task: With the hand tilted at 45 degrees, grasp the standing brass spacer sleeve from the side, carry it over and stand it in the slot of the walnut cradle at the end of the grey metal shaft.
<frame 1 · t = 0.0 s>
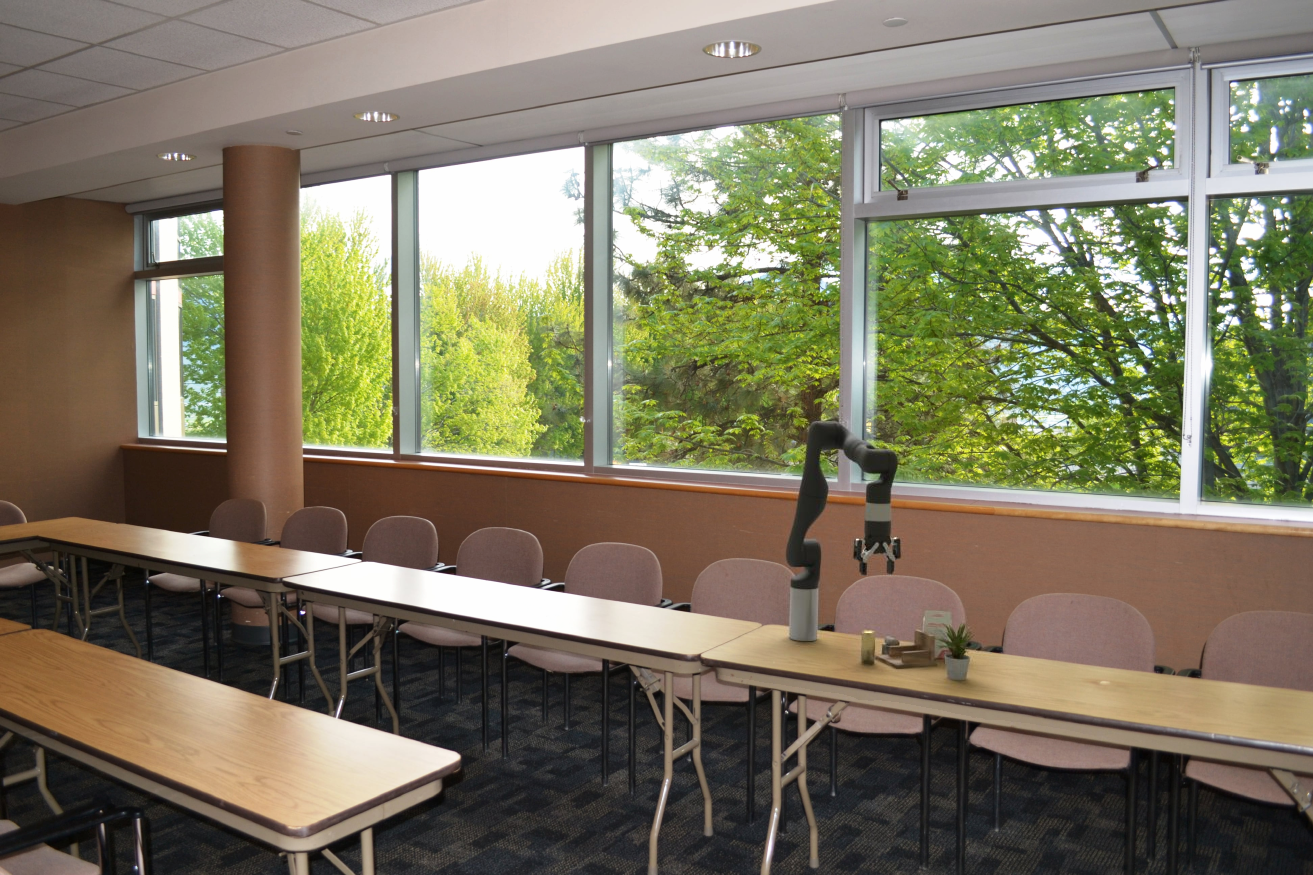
hand: (876, 574, 281), 29 cm above the table, tool pointing down, fingers open, 8 cm apart
cradle: (905, 661, 297), on the table
ink cartridge box: (936, 657, 304), on the table
house plant: (955, 677, 281), on the table
spacer: (867, 662, 295), on the table
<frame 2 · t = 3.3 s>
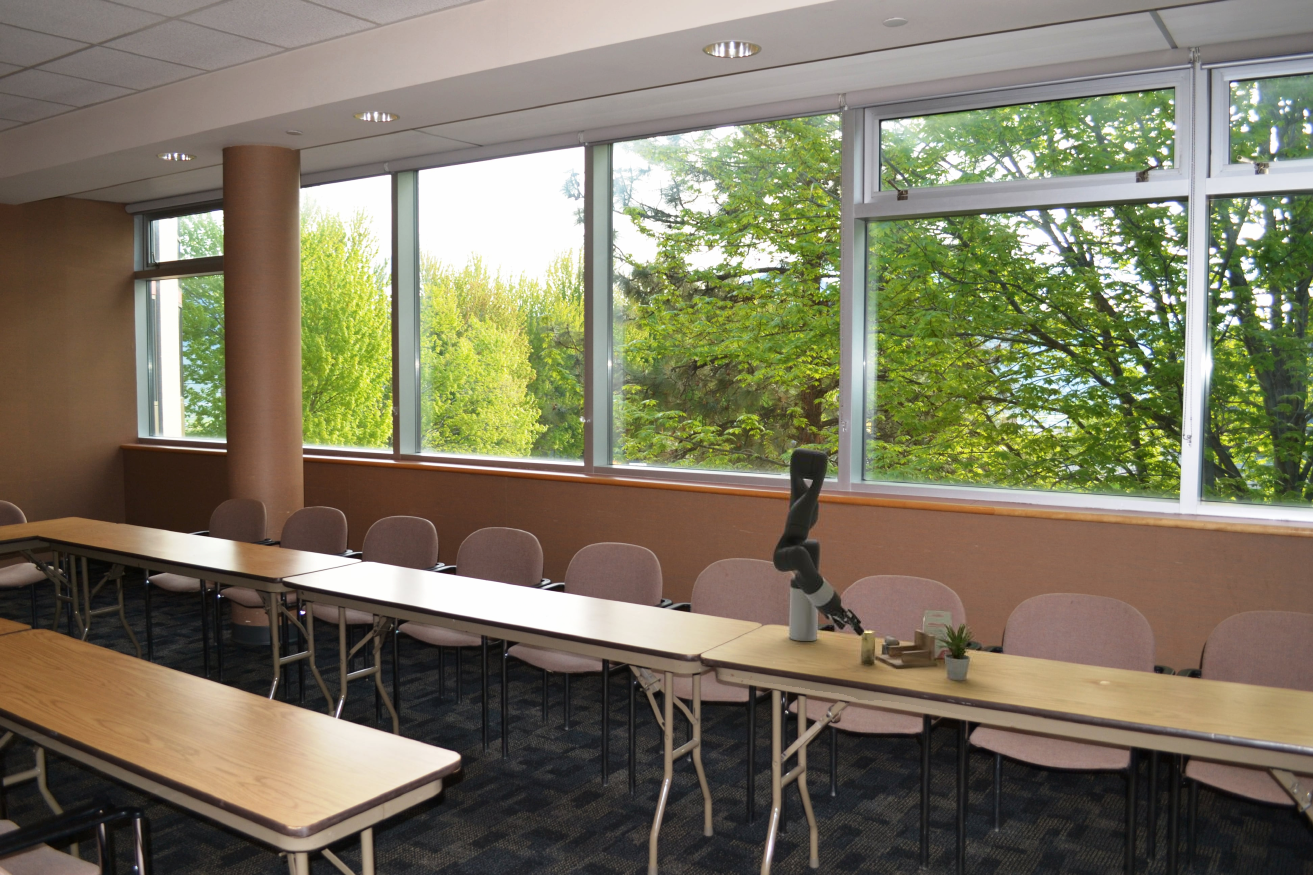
hand: (852, 630, 291), 11 cm above the table, tool tilted 45°, fingers open, 8 cm apart
nothing on the table moved.
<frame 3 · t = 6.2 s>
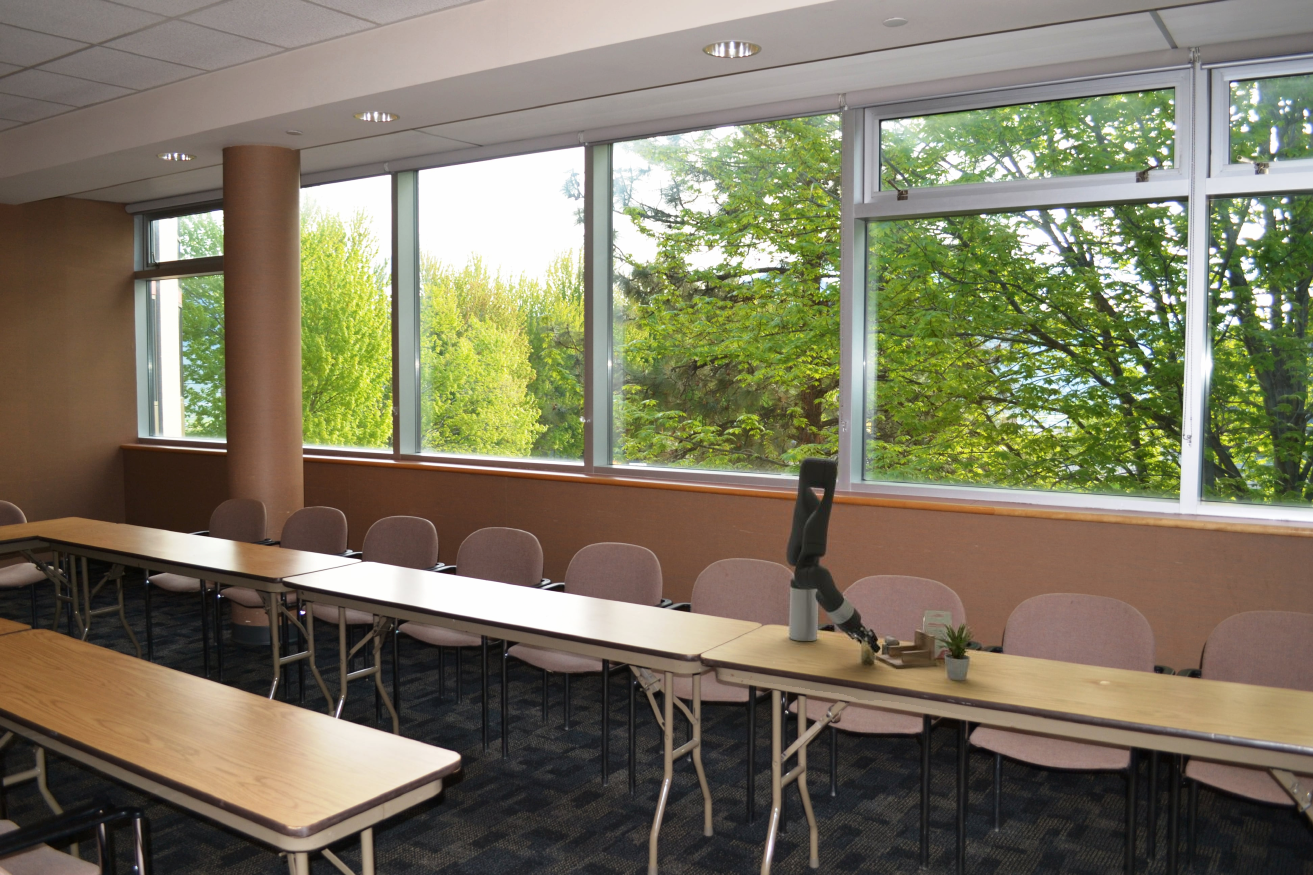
hand: (873, 648, 296), 4 cm above the table, tool tilted 45°, fingers closed on spacer, 4 cm apart
spacer: (867, 662, 295), on the table, touching gripper
everything else where it was.
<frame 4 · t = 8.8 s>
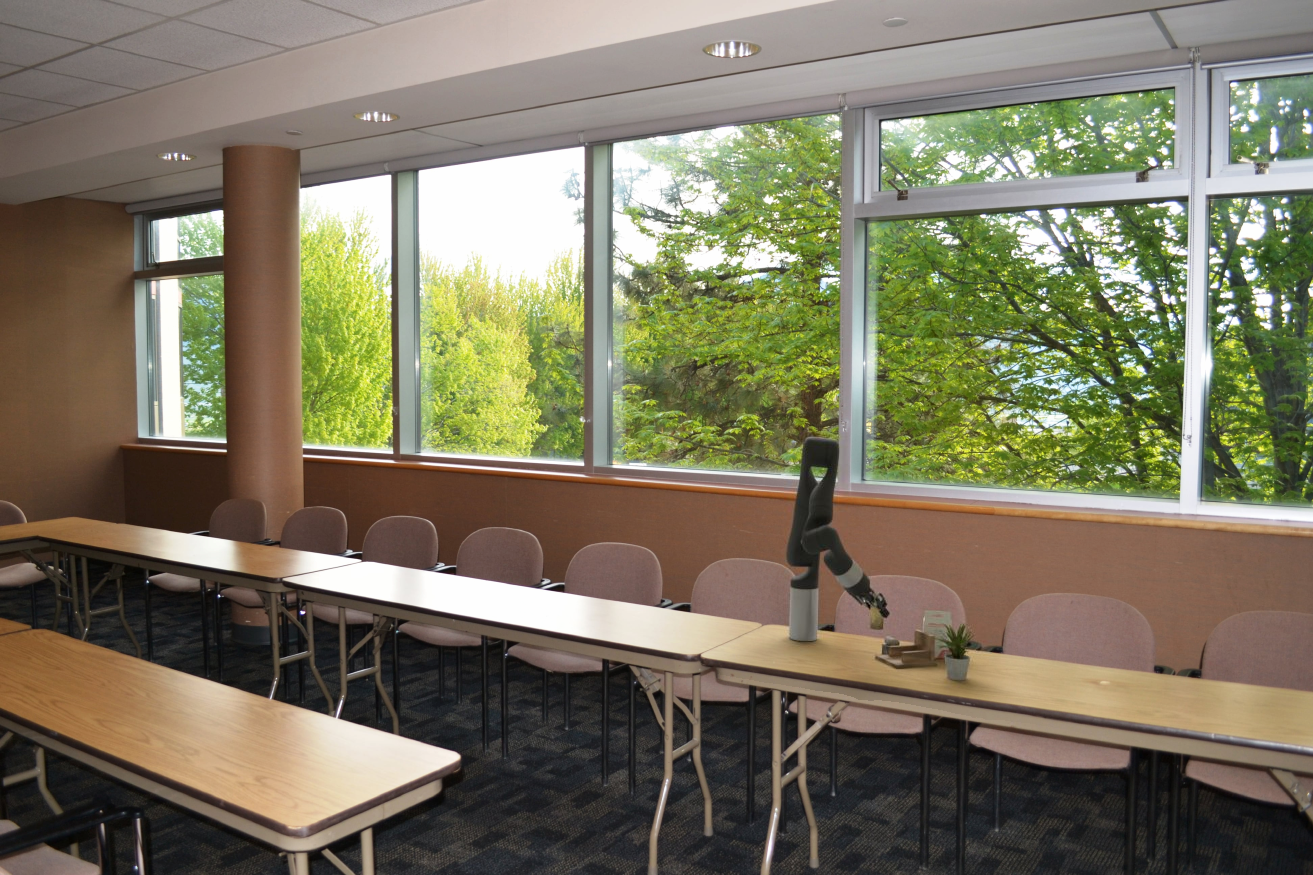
hand: (881, 614, 291), 16 cm above the table, tool tilted 45°, fingers closed on spacer, 4 cm apart
spacer: (876, 628, 291), point 11 cm above the table, touching gripper
everything else where it was.
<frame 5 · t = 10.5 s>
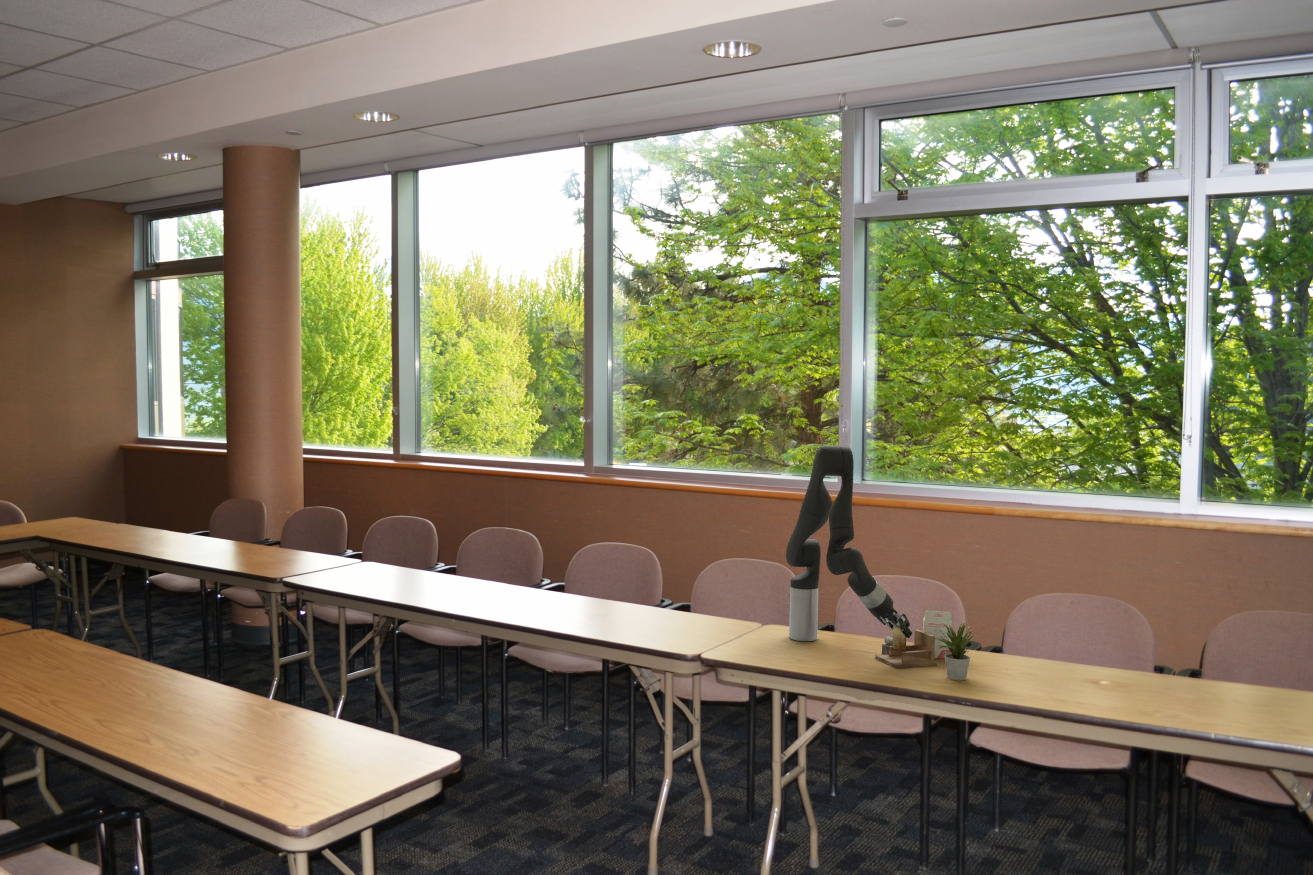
hand: (904, 633, 296), 9 cm above the table, tool tilted 45°, fingers closed on spacer, 4 cm apart
spacer: (899, 647, 295), point 5 cm above the table, touching gripper
everything else where it was.
when the fingers open (6 cm above the table, at t = 11.7 s): spacer drops 1 cm, resting on cradle.
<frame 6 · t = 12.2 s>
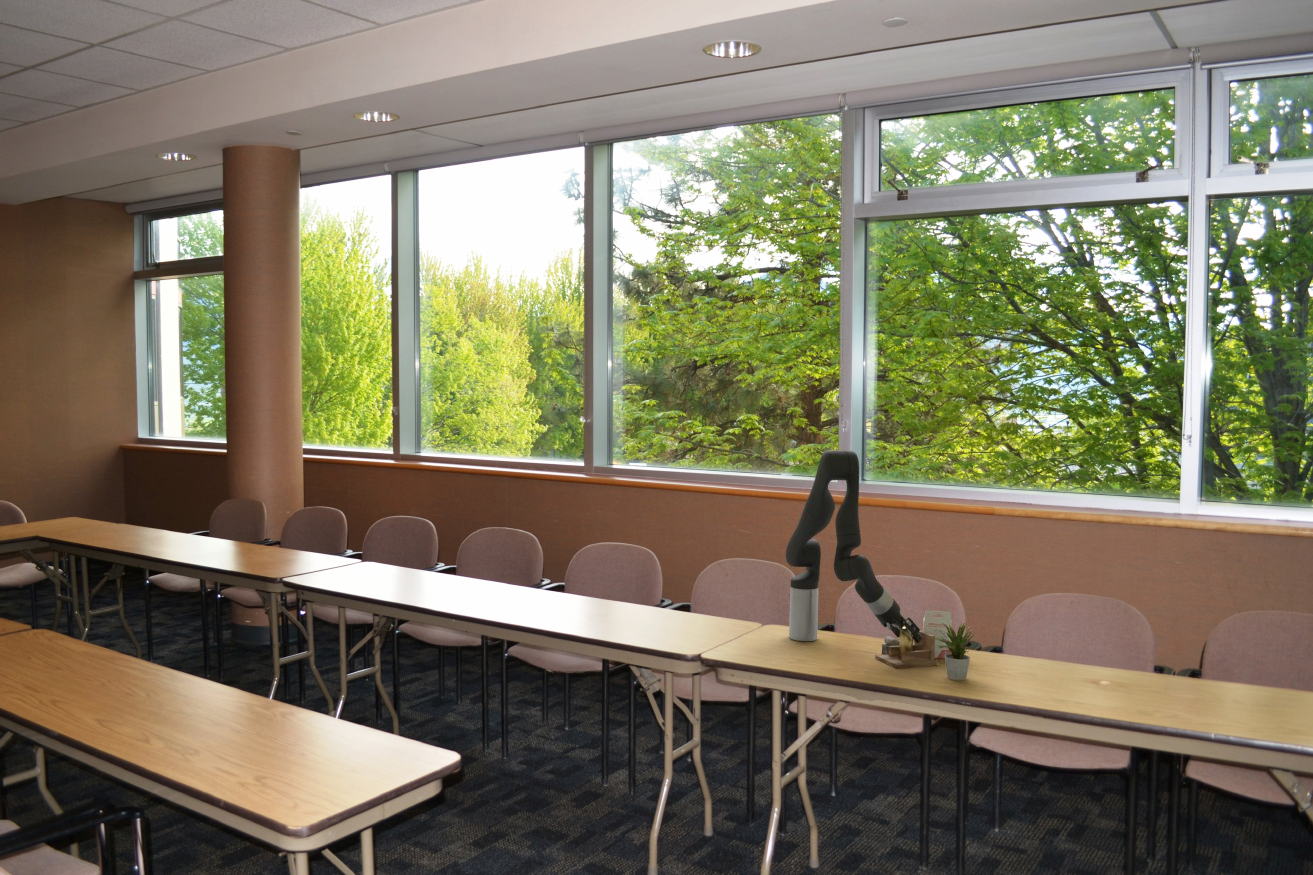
hand: (909, 637, 297), 7 cm above the table, tool tilted 45°, fingers open, 8 cm apart
spacer: (905, 658, 297), point 1 cm above the table, touching cradle
everything else where it was.
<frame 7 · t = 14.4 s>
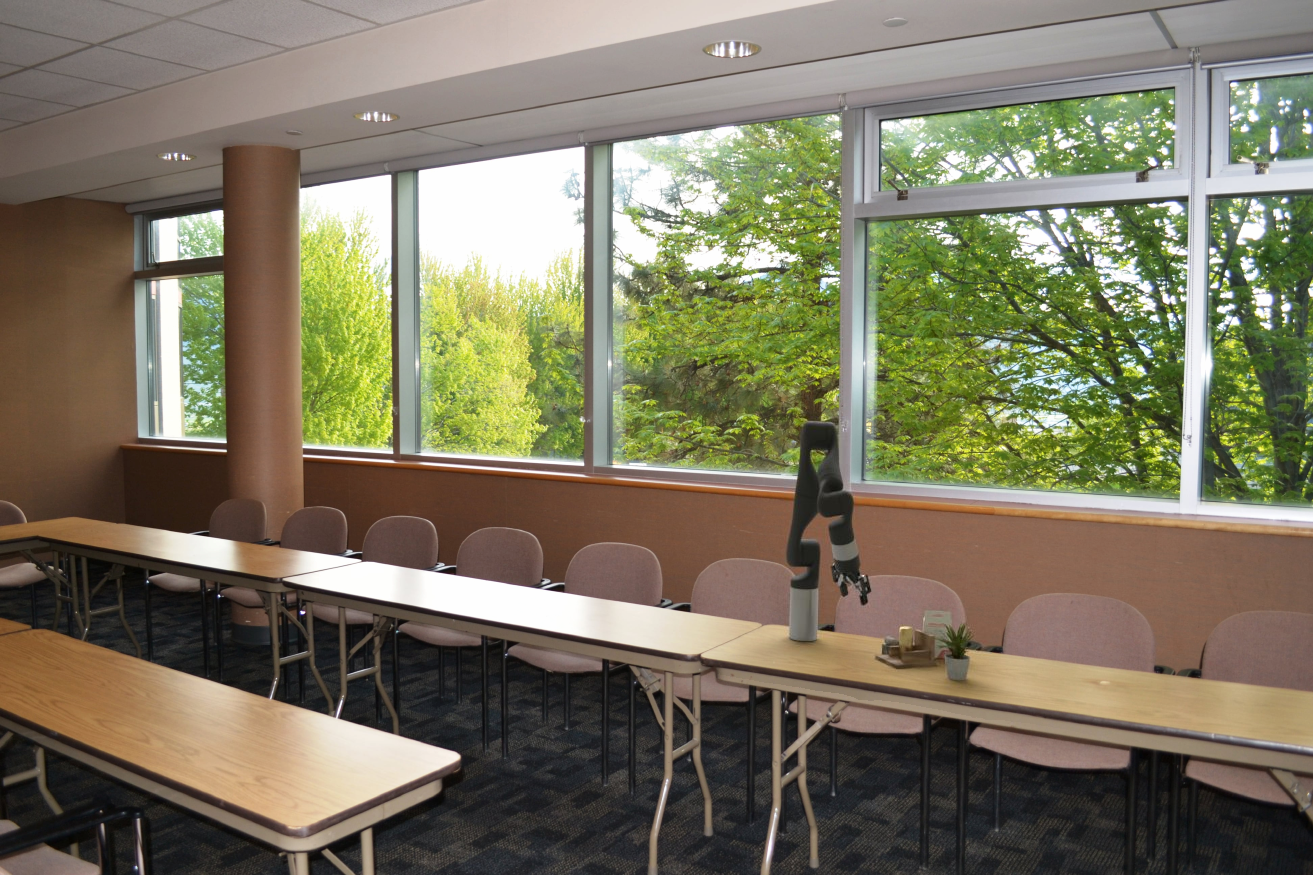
hand: (854, 599, 294), 19 cm above the table, tool tilted 25°, fingers open, 8 cm apart
nothing on the table moved.
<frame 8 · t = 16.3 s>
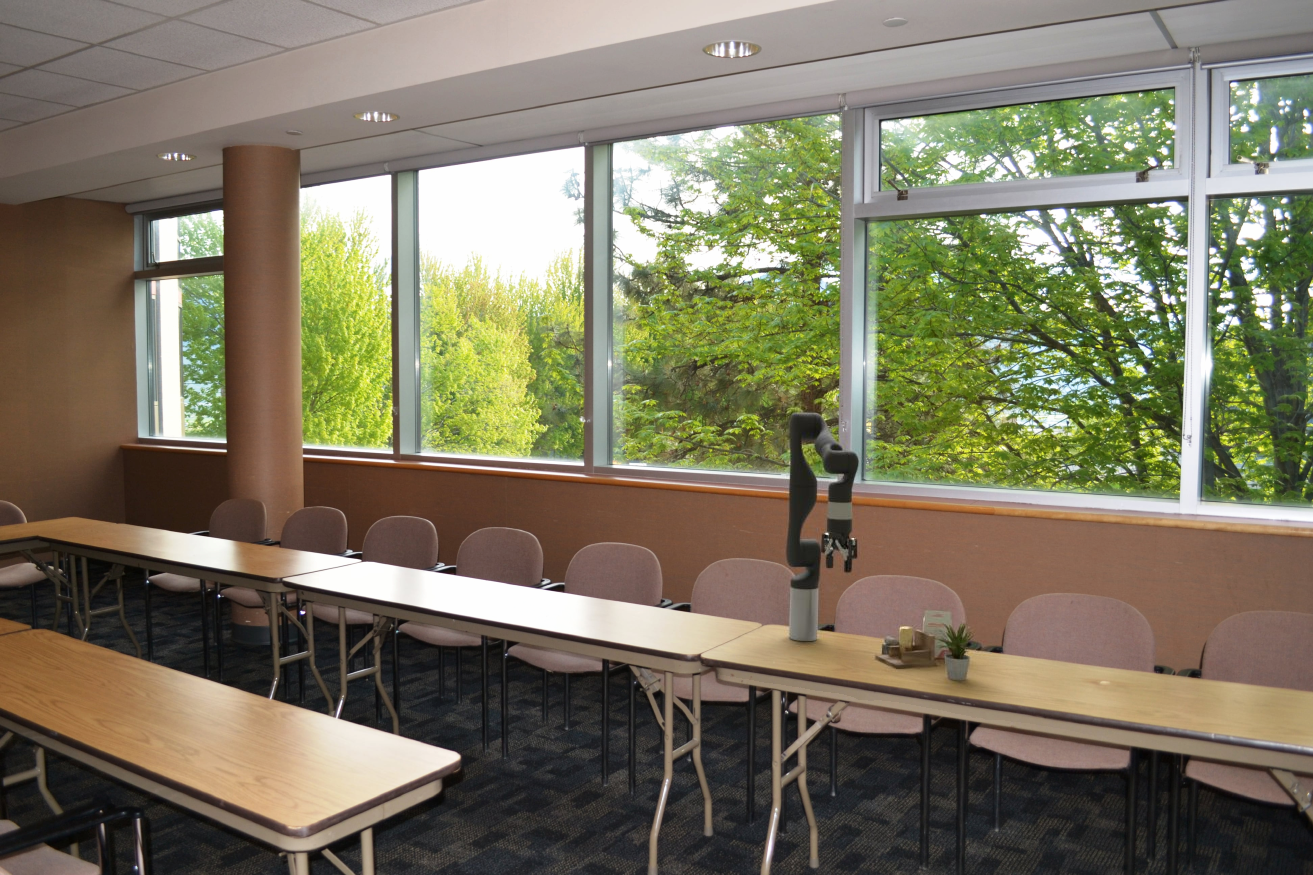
hand: (838, 570, 294), 28 cm above the table, tool pointing down, fingers open, 8 cm apart
nothing on the table moved.
at the end: spacer 0.1 cm off-centre on the cradle, point 1.0 cm above the cradle's base; spacer tilted 0°; the gripper is holding nothing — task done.
